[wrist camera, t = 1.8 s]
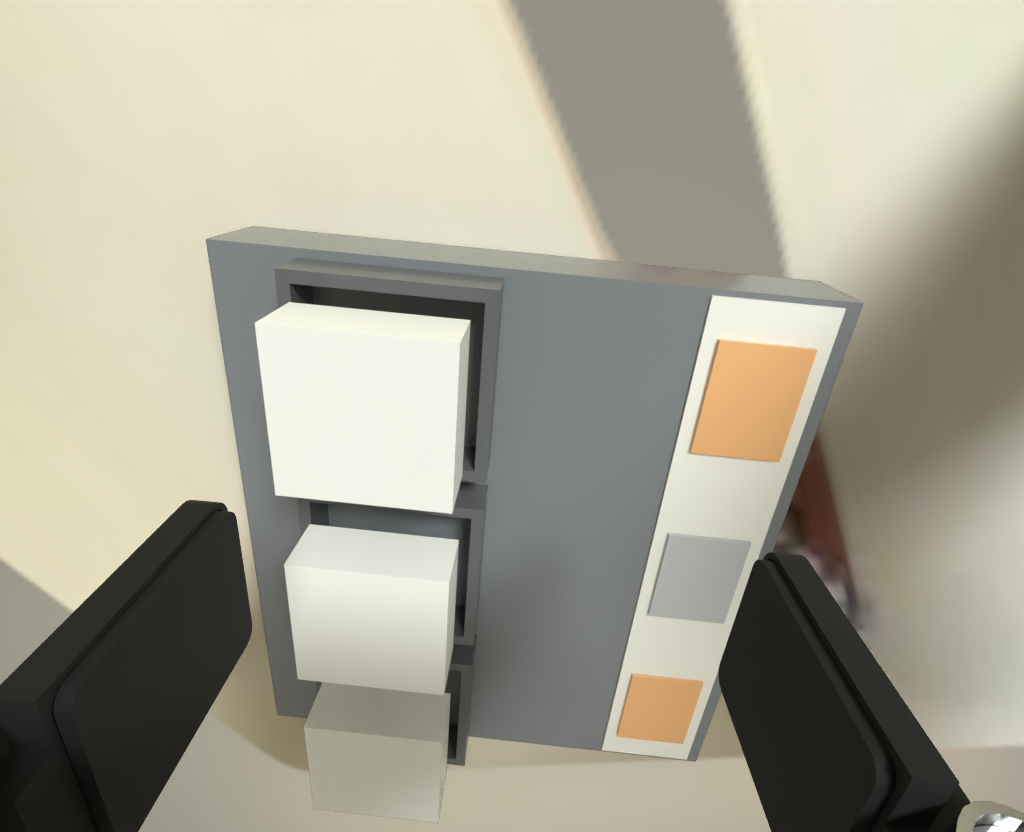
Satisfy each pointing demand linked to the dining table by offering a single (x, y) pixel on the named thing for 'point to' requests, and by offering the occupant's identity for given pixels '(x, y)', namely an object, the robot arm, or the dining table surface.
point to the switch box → (563, 469)
